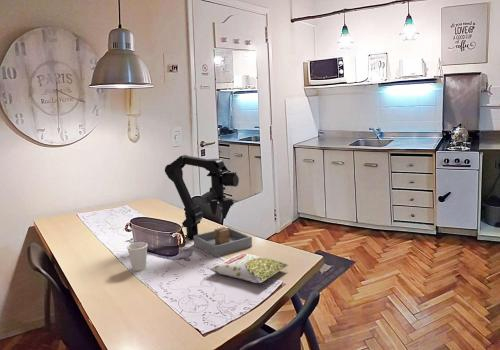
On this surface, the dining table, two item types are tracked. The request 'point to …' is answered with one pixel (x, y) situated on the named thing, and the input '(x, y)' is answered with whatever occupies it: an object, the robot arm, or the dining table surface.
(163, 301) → the dining table surface
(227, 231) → the walnut block
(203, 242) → the grey bin
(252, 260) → the frozen beans
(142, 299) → the dining table surface
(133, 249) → the dixie cup
